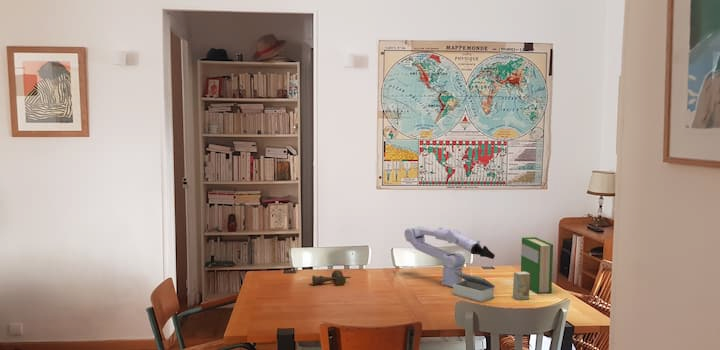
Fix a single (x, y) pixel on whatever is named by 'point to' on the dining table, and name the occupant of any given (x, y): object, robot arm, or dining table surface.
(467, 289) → the box
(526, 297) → the skincare box
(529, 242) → the hardback book
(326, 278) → the kendama
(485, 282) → the lid
